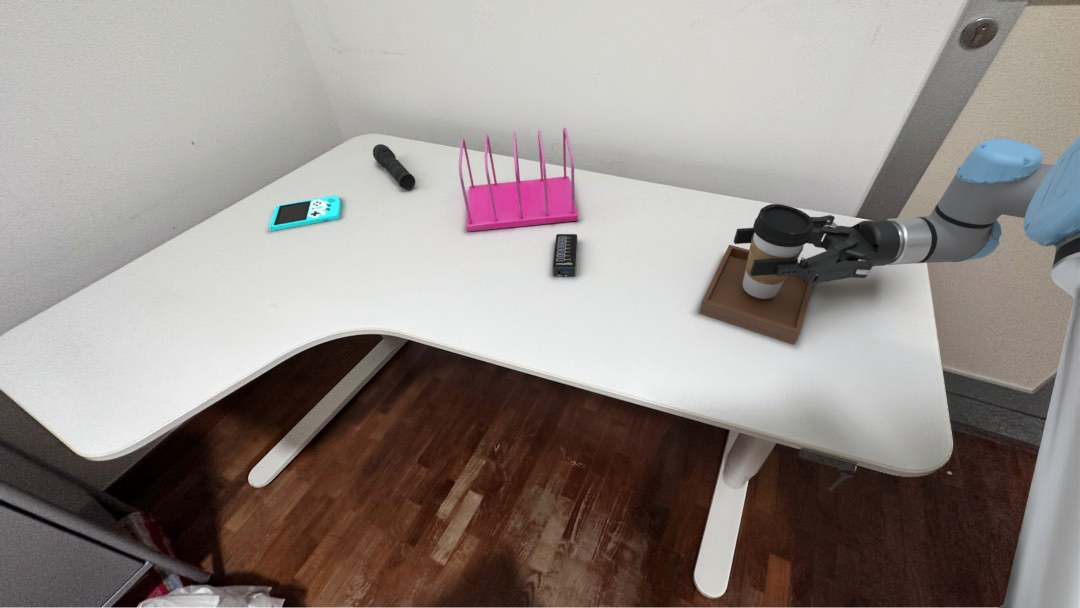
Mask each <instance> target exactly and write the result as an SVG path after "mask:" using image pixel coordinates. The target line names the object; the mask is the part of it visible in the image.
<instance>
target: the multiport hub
mask: <svg viewBox="0 0 1080 608" xmlns="http://www.w3.org/2000/svg"><path fill="white" fill-rule="evenodd" d="M554 243H555V244H554V251H553V252H554V253H553V262H552V276H553V277H555V278H556V277H557V278H566V277H567V278H574V277H576V276H577V257H578V234H576V233H557V234H555V242H554Z"/></svg>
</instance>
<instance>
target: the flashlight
mask: <svg viewBox="0 0 1080 608" xmlns="http://www.w3.org/2000/svg"><path fill="white" fill-rule="evenodd" d="M372 157H373V158H374V160H375V161H376V162H377V163H378V164H379V165H380V166H381V167H383V168H384V169H386V171H387V172H388V173H389V174H390V176H391V177H392V178H393V179H394V180H395V181H396V182H397V183H398V185H399V188H401V189H404V190H406V191H411V190H412V189H414V187H415V186H416V182H417V181H416V178H415V176H414V175H413V174H412V173H410V171H408V169H407V168H406V167H405V166H404V165H403V164H402V163H401V162H400V160H398V159H397V156H396V154H395V153H394V152H393V151H392V150H391V149H390V147H389V146H388V145H385V144H382V143H379V144H376V145H375V146H374V147H373V149H372Z"/></svg>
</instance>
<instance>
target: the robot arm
mask: <svg viewBox="0 0 1080 608" xmlns="http://www.w3.org/2000/svg"><path fill="white" fill-rule="evenodd" d="M1043 158H1044V155H1043V153H1042V151H1041V150H1040V149H1039V148H1038V147H1036V146H1034V145H1033V144H1030V143H1027V142H1020V141H1019V140H1015V139H1011V138H1010V139H1009V138H994V139H989V140H988V139H987V140H985V141H982V142H980V143H978V144H977V145H976V146H975V147H974V148H973V149H972V151H971V152H970V153H969V154H968V155H967V157H966V158H965V160H964V161H963V162H962V164H961V165H960V166H959V167H958V168H957V170H956V173H955V175H954V176H953V177H952V180H951V181H950V183H949V184H948V186H947V188H946V189H945V191H944V192H943V195H941V198H940V199H939V200H938V202H937V204H936V205H935V206H934V208H933V209H932V211H931V212H930V214H929V215H924V216H917V217H916V216H914V217H912V216H911V217H895V218H887V219H884V218H883V219H869V220H867V219H866V220H862V221H860V222H857V223H856V224H854V225H852V226H847V225H838V224H837V223H836V222H834V221H835V219H836V218H835V216H834V215H832V214H829V215H823V216H810V217H811V219H812V220H813V223H814V225H813V230H812V231H813V233H812V236H811V238H810V240H809V241H808V242H807V243H806V244H809V245H813V247H815V248H820V249H824V250H825V251H823V252H819V253H817V254H815V255H813V256H810V257H807V258H805V257H800V261H799V258H798V259H797V257H792V258H776V259H760V260H754V262H753V265H752V268H751V271H750V274H751V276H758V275H774V274H776V276H792V275H796V276H797V277H802V278H803V279H804V283H805V284H808V285H811V284H813V285H817V284H821V283H822V284H823V283H828V282H833V281H839V280H844V279H852V278H853V279H854V278H855V279H866V278H867V277H868V276H869V274H870V272H871V270H872V268H874V267H883V266H895V265H896V266H897V265H911V264H929V263H930V264H931V263H960V262H961V263H962V262H964V261H970V260H971V261H972V260H977V259H983V258H985V257H988V256H989V255H990V254H992V253H993V252H994V251H996V250H997V248H998V246H999V245H1000V243H1001V242H1000V237H1001V236H1002V234H1003V232H1002V231H1003V230H1002V227H1001V224H1000V222H999V221H998V219H999V218H1000V217H1001V216H1002V215H1004V216H1009V217H1015V218H1021V219H1023V230H1024V232H1025V236H1026V237H1027V238H1028V239H1029V240H1030V241H1033V242H1035V243H1037V244H1038V245H1039V246H1042V247H1052V246H1054V247H1055V253H1054V260H1053V263H1052V267H1051V272H1050V278H1051V280H1052V281H1053V282H1054V283H1055V285H1056V286H1058V287H1059V288H1060V289H1062V290H1063V291H1064V292H1066V293H1067V294H1068V295H1069V296H1071V297H1072V298H1073V300H1072V305H1071V309H1070V314H1069V319H1068V323H1067V326H1066V332H1065V337H1064V341H1063V345H1062V350H1061V353H1060V358H1059V363H1058V367H1057V371H1056V375H1055V380H1054V384H1053V388H1052V393H1051V396H1050V401H1049V405H1048V410H1047V415H1046V418H1045V424H1044V427H1043V432H1042V436H1041V440H1040V445H1039V448H1038V449H1039V450H1038V453H1037V458H1036V461H1035V466H1034V471H1033V474H1032V479H1031V483H1030V488H1029V491H1028V497H1027V501H1026V504H1025V505H1026V506H1025V510H1024V514H1023V519H1022V523H1021V527H1020V531H1019V535H1018V540H1017V545H1016V548H1015V553H1014V557H1013V561H1012V565H1011V569H1010V575H1009V578H1008V584H1007V588H1006V591H1005V597H1004V601H1003V604H1002V605H999V607H997V608H1080V135H1079V136H1078V137H1077V138H1076V139H1075V140H1073V142H1072V143H1070V145H1069V146H1068V147H1067V149H1065V151H1063V153H1062V154H1061V156H1060V157H1059V158H1058V159H1057V161H1055V163H1054V164H1050V163H1049V164H1048V163H1043V162H1042V161H1043V160H1044V159H1043ZM753 234H754V229H753V227H744V228H743V227H742V228H741V227H740V228H737V229H736V231H735V234H734V238H733V241H732V242H733V243H734V245H743V244H744V245H745V244H751V240H752V236H753Z"/></svg>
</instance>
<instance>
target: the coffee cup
mask: <svg viewBox="0 0 1080 608" xmlns="http://www.w3.org/2000/svg"><path fill="white" fill-rule="evenodd" d="M811 217H812V216H810V215H809V214H807V213H806V212H804V211H803V210H801V209H798V208H796V207H793V206H789V205H785V204H781V203H772V204H768V205H765V206H764V207H762V208H760V210H759V212H758V215H757V217H756V218H755V219H754V223H753V227H752V228H753V229H754V234H753V236H752V240H751V243H750V246H749V249H748V250H749V255H748V260H747V265H746V271H745V275H744V279H743V288H744V290H745V291H746V292H747V293H748V294H750V295H751V296H754V297H756V298H761V299H769V298H772V297H774V296H775V295H776V294H777V293H778V291H779V290H780V288H781V286H782V284H783V282H784V280H785V279H786V277H787V276H776V274H774V275H758V276H751V274H750V271H751V268H752V265H753V262H754V260H760V259H776V258H792V257H797V259H798V260H799V257H800V256H801V254H802V252H803V250H804V246H805V245H806V244H808V243H807V242H808V241H809V240H810V238H811V236H812V233H813V231H812V230H813V225H814V223H813V220H812V219H811Z"/></svg>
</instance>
